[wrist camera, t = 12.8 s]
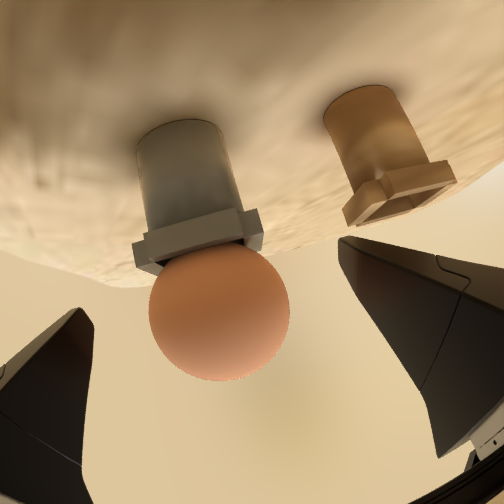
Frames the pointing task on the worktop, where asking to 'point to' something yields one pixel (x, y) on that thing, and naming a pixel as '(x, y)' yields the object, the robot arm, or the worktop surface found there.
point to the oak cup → (382, 156)
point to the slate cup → (189, 195)
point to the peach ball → (219, 312)
